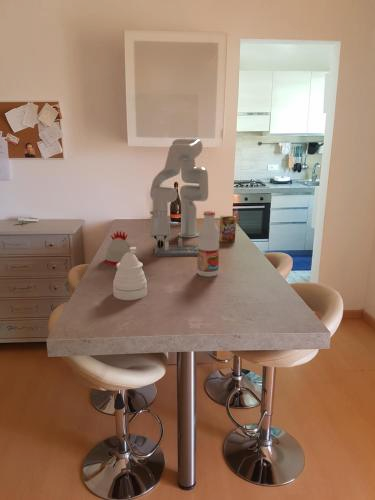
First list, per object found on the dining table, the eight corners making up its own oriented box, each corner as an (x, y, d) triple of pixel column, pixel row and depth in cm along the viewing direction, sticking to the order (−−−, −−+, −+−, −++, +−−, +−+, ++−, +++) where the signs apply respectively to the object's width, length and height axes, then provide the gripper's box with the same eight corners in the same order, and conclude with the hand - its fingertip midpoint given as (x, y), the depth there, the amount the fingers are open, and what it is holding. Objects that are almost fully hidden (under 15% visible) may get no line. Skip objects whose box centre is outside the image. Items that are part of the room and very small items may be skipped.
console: (154, 247, 214) (154, 243, 213) (197, 247, 216) (197, 243, 215) (154, 256, 199) (154, 251, 198) (200, 255, 200) (201, 251, 200)
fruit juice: (203, 269, 180) (204, 209, 172) (221, 272, 175) (224, 211, 168) (193, 274, 172) (194, 212, 164) (212, 278, 167) (214, 214, 160)
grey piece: (128, 266, 183) (127, 235, 179) (101, 264, 185) (99, 233, 181) (137, 257, 196) (137, 228, 192) (112, 255, 198) (110, 227, 194)
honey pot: (131, 285, 159) (130, 242, 154) (153, 293, 151) (153, 248, 146) (106, 294, 149) (104, 249, 144) (129, 302, 141) (127, 255, 136)
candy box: (220, 242, 228) (221, 216, 224) (219, 240, 232) (219, 215, 228) (235, 242, 229) (236, 216, 225) (233, 240, 233) (234, 215, 229)
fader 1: (164, 249, 206) (164, 239, 204) (168, 249, 206) (168, 239, 204) (164, 250, 203) (164, 241, 202) (168, 250, 203) (168, 241, 202)
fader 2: (178, 245, 213) (178, 236, 211) (181, 245, 213) (182, 236, 212) (178, 246, 210) (178, 237, 209) (182, 246, 210) (182, 237, 209)
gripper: (145, 214, 195) (145, 249, 200) (174, 214, 196) (174, 249, 201) (145, 212, 202) (146, 246, 207) (174, 212, 203) (174, 245, 208)
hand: (160, 247), depth 204 cm, fingers closed
